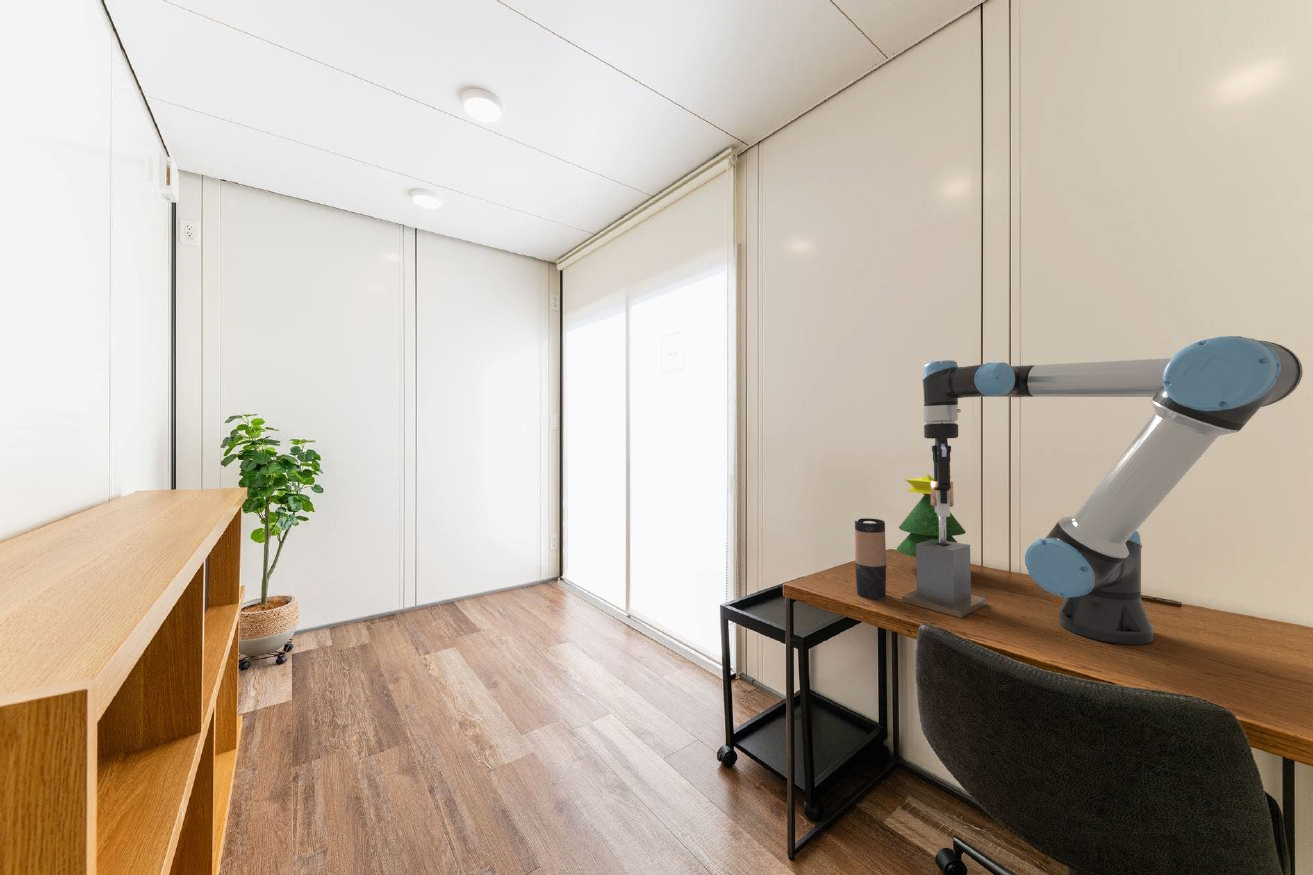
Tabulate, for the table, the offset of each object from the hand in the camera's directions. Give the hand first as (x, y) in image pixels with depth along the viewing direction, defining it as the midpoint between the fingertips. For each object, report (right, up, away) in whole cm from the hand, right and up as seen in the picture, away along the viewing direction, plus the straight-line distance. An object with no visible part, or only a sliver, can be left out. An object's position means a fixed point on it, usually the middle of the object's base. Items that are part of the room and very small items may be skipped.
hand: (942, 514), depth 125 cm
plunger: (0, -13, 0) cm, 13 cm away
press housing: (+1, -23, 0) cm, 23 cm away
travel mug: (-15, -23, +8) cm, 29 cm away
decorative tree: (+12, -22, +27) cm, 37 cm away
